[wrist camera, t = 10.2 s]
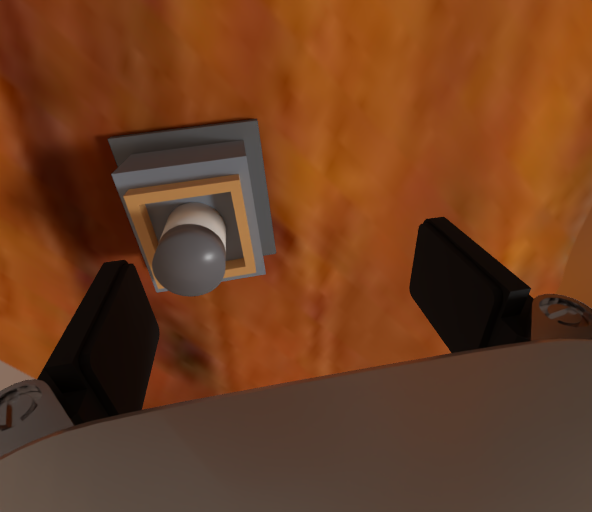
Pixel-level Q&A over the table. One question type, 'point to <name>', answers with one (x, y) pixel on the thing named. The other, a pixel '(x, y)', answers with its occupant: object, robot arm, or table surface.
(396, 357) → the table surface
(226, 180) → the grey square peg holder
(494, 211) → the table surface
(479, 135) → the table surface
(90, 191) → the table surface
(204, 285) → the gray and white capsule
